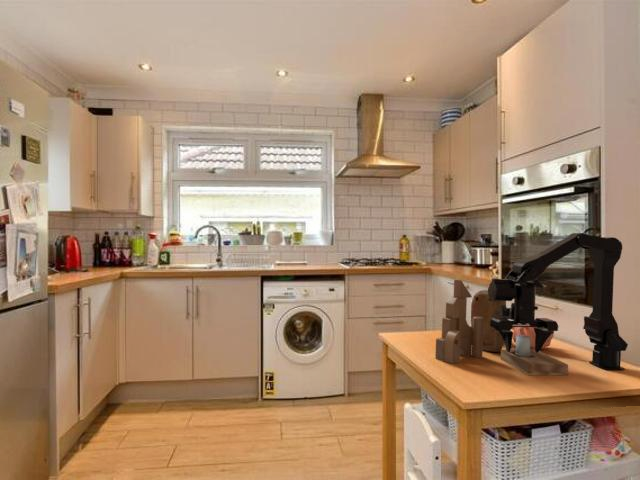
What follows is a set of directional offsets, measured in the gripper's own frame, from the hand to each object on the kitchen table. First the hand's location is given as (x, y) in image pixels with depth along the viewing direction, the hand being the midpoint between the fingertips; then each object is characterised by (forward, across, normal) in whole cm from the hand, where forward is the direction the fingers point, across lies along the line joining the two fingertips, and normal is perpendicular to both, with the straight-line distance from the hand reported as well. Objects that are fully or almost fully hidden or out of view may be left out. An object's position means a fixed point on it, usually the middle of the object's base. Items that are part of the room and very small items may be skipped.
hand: (522, 352), depth 118 cm
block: (+4, +3, -16) cm, 17 cm away
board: (+4, -2, +2) cm, 5 cm away
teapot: (+4, -15, -18) cm, 24 cm away
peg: (+3, 0, 0) cm, 3 cm away
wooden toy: (+4, +17, -6) cm, 18 cm away
